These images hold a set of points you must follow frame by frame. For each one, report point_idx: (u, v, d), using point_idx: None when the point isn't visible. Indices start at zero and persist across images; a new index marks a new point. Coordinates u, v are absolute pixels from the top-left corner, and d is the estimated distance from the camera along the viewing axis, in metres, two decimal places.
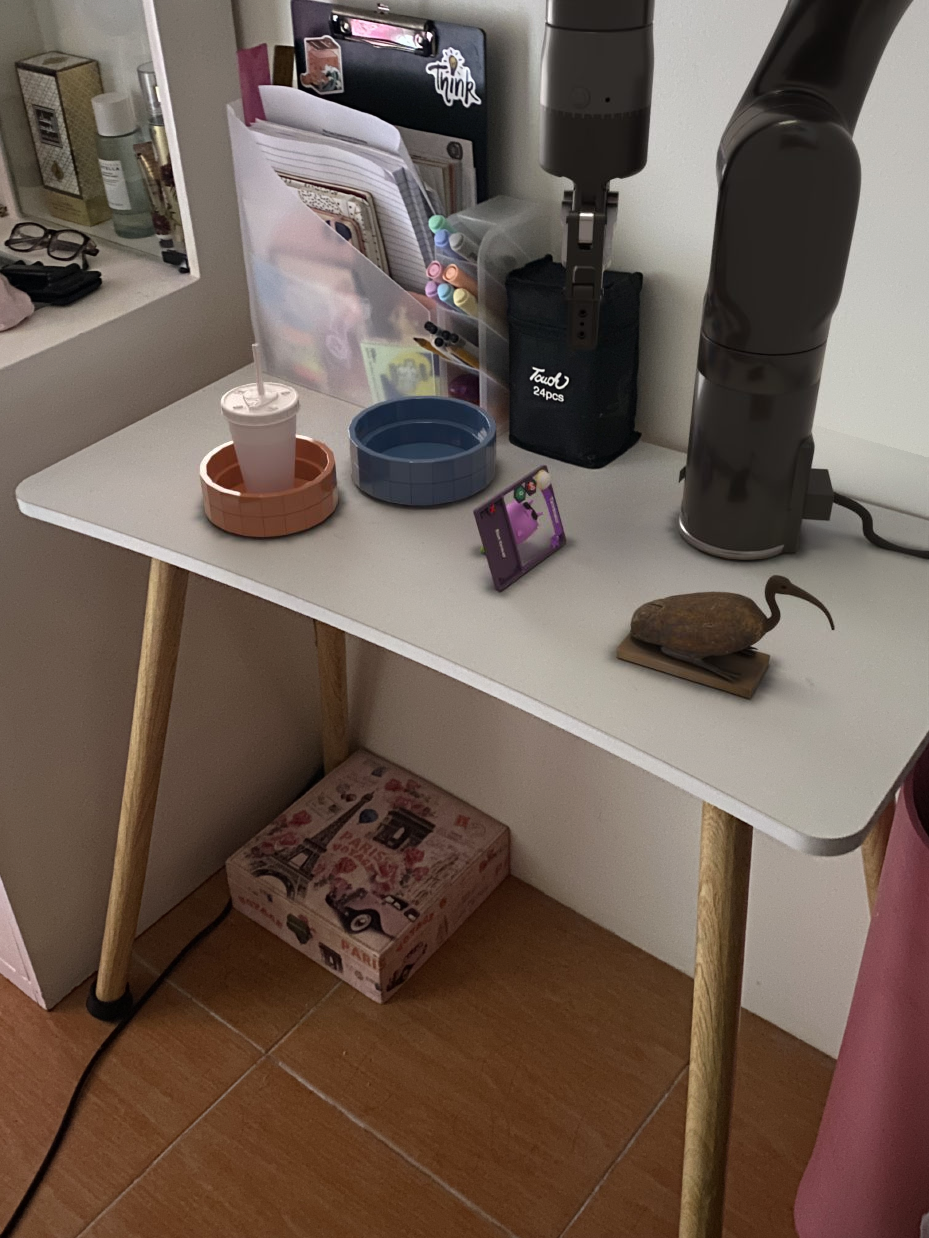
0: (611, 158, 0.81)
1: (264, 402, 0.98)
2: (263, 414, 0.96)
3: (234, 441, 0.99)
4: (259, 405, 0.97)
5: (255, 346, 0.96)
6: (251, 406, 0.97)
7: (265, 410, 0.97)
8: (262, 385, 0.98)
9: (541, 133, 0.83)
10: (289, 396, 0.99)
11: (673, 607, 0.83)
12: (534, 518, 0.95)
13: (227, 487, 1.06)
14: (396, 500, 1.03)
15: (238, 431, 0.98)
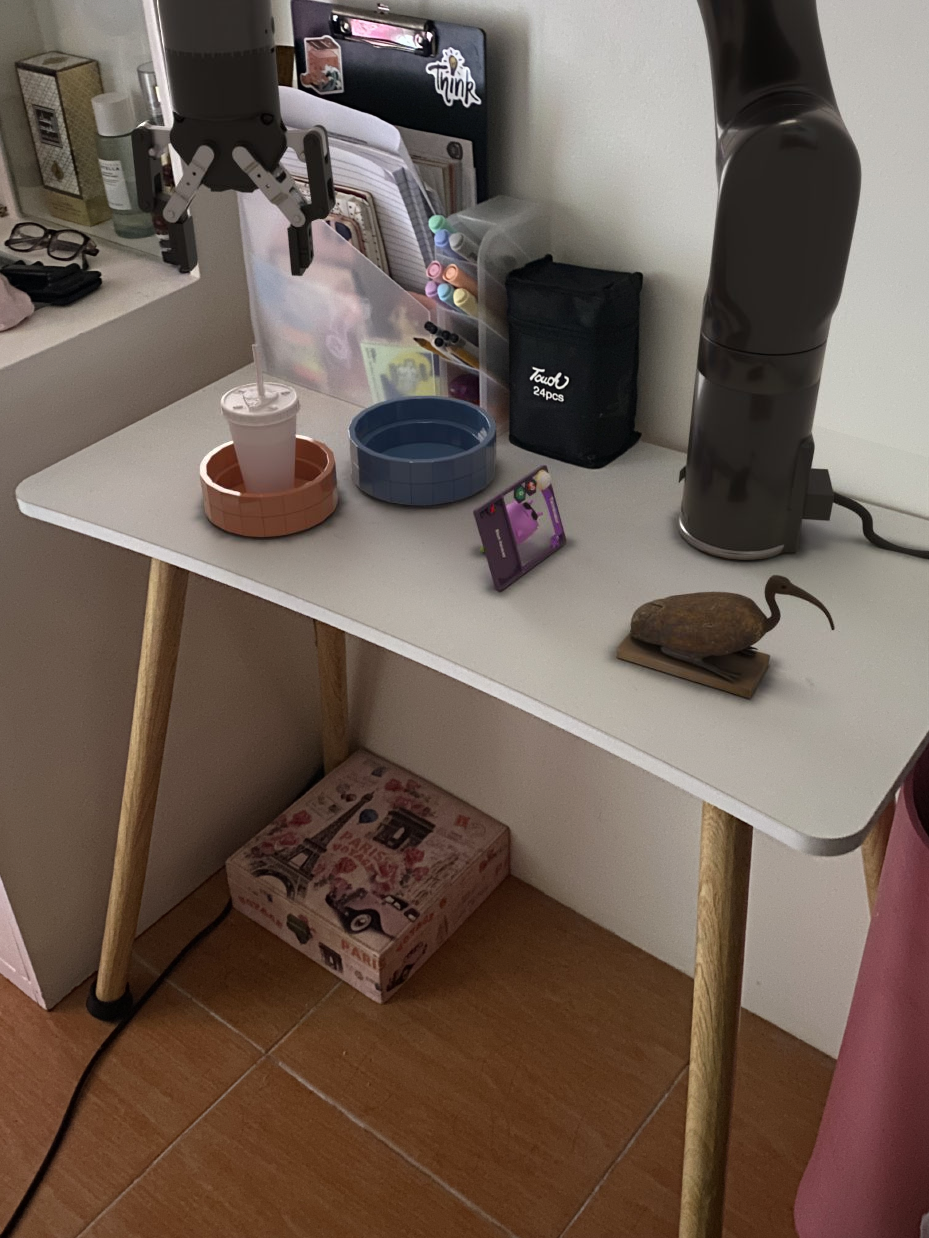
0: (169, 89, 0.84)
1: (264, 402, 0.98)
2: (263, 414, 0.96)
3: (234, 441, 0.99)
4: (259, 405, 0.97)
5: (255, 346, 0.96)
6: (251, 406, 0.97)
7: (265, 410, 0.97)
8: (262, 385, 0.98)
9: None
10: (289, 396, 0.99)
11: (673, 607, 0.83)
12: (534, 518, 0.95)
13: (227, 487, 1.06)
14: (396, 500, 1.03)
15: (238, 431, 0.98)
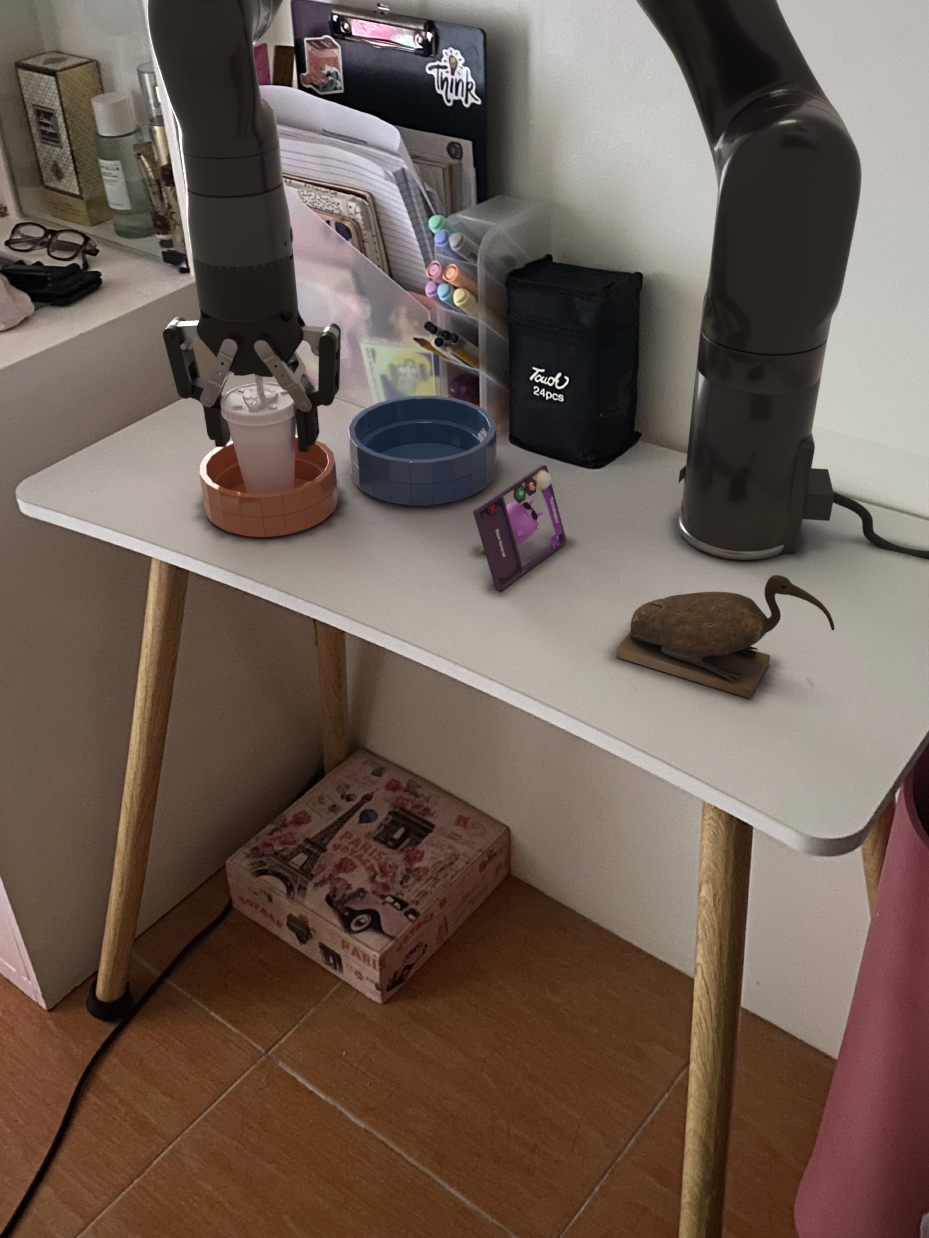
0: None
1: (264, 402, 0.98)
2: (263, 414, 0.96)
3: (234, 441, 0.99)
4: (259, 405, 0.97)
5: None
6: (251, 406, 0.97)
7: (264, 410, 0.97)
8: (262, 385, 0.98)
9: None
10: (289, 396, 0.99)
11: (673, 607, 0.83)
12: (534, 518, 0.95)
13: (227, 487, 1.06)
14: (396, 500, 1.03)
15: (237, 431, 0.98)
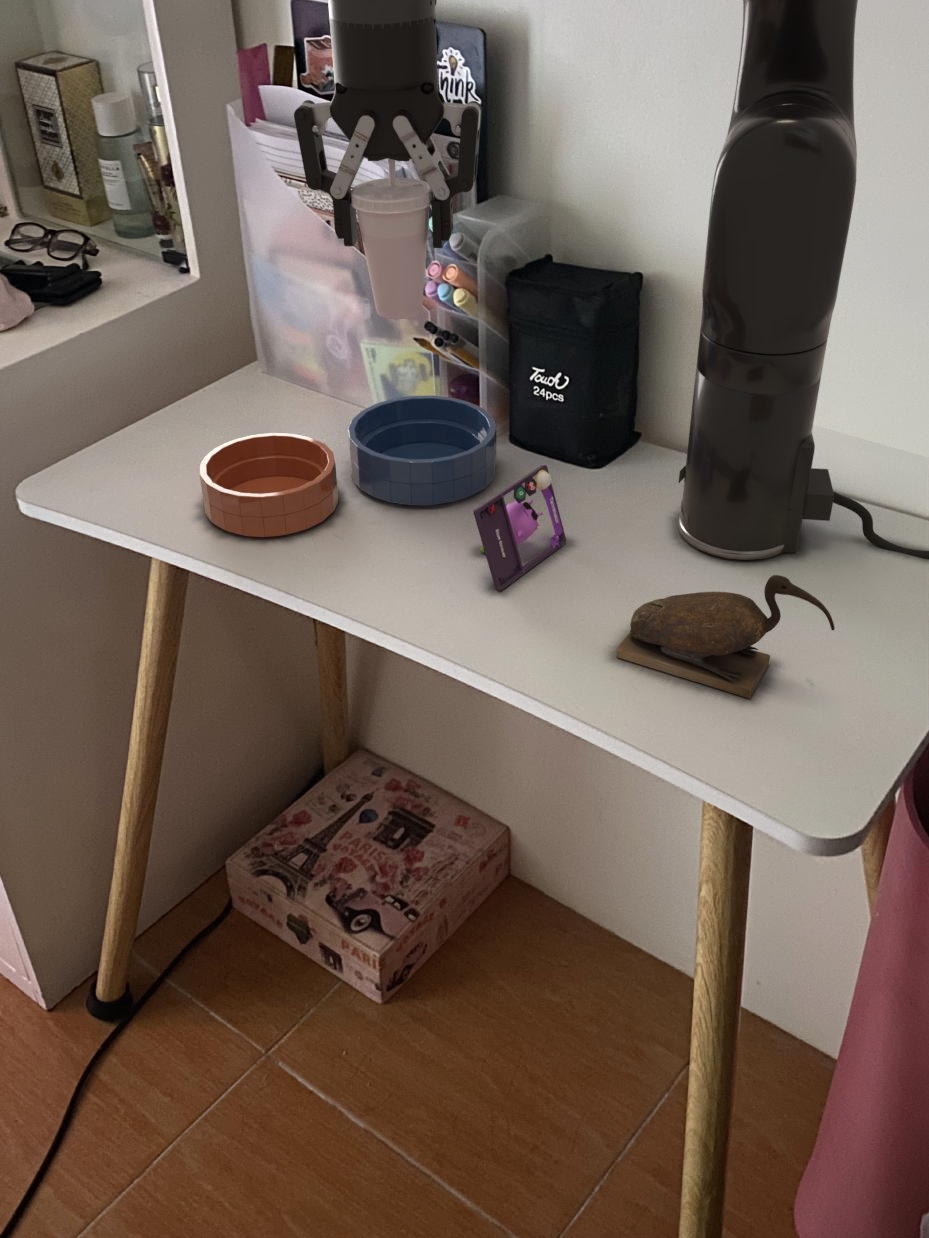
0: (333, 61, 0.87)
1: (398, 191, 0.93)
2: (399, 200, 0.91)
3: (365, 236, 0.94)
4: (393, 193, 0.92)
5: None
6: (385, 194, 0.92)
7: (400, 198, 0.92)
8: (394, 175, 0.93)
9: None
10: (422, 187, 0.94)
11: (673, 607, 0.83)
12: (534, 518, 0.95)
13: (227, 487, 1.06)
14: (396, 500, 1.03)
15: (370, 222, 0.93)
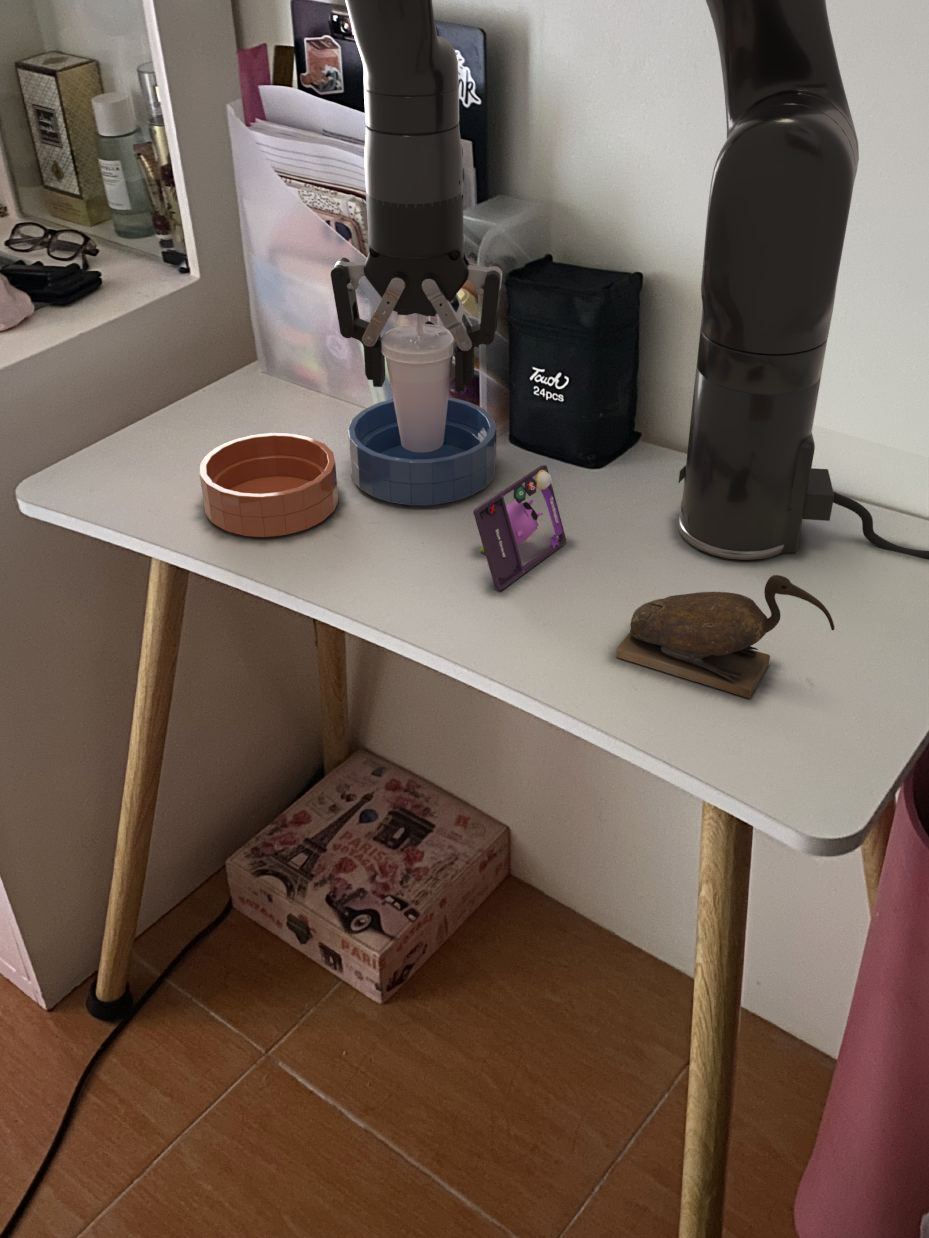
0: (368, 229, 0.95)
1: (424, 341, 1.00)
2: (426, 352, 0.99)
3: (393, 380, 1.02)
4: (420, 344, 1.00)
5: None
6: (413, 345, 1.00)
7: (426, 349, 1.00)
8: (421, 325, 1.01)
9: None
10: (447, 336, 1.02)
11: (673, 607, 0.83)
12: (534, 518, 0.95)
13: (227, 487, 1.06)
14: (396, 500, 1.03)
15: (398, 369, 1.01)
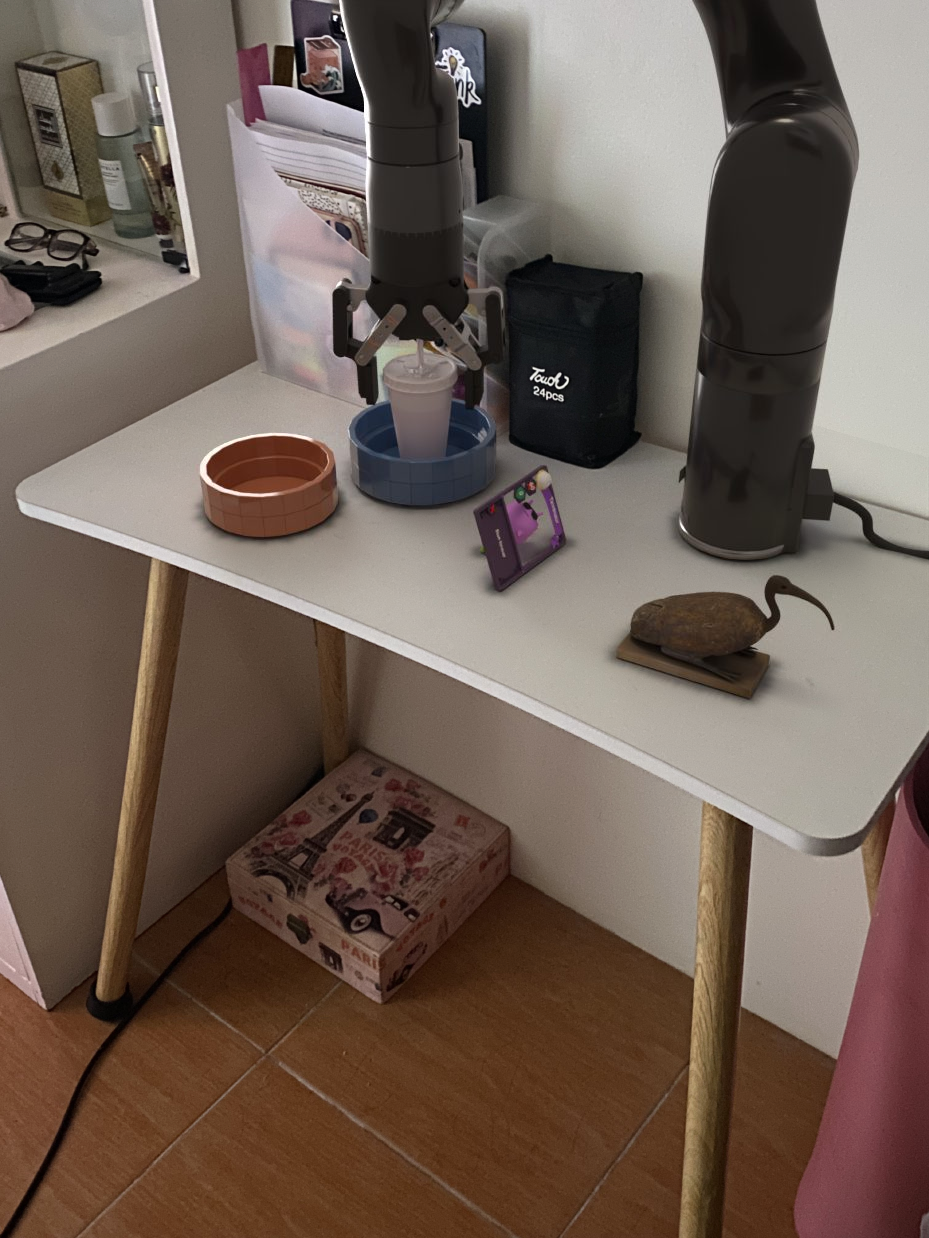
0: (370, 257, 0.97)
1: (425, 371, 1.02)
2: (427, 382, 1.00)
3: (394, 409, 1.04)
4: (421, 373, 1.01)
5: None
6: (414, 374, 1.01)
7: (427, 378, 1.01)
8: (422, 355, 1.03)
9: None
10: (448, 365, 1.03)
11: (673, 607, 0.83)
12: (534, 518, 0.95)
13: (227, 487, 1.06)
14: (396, 500, 1.03)
15: (400, 398, 1.02)
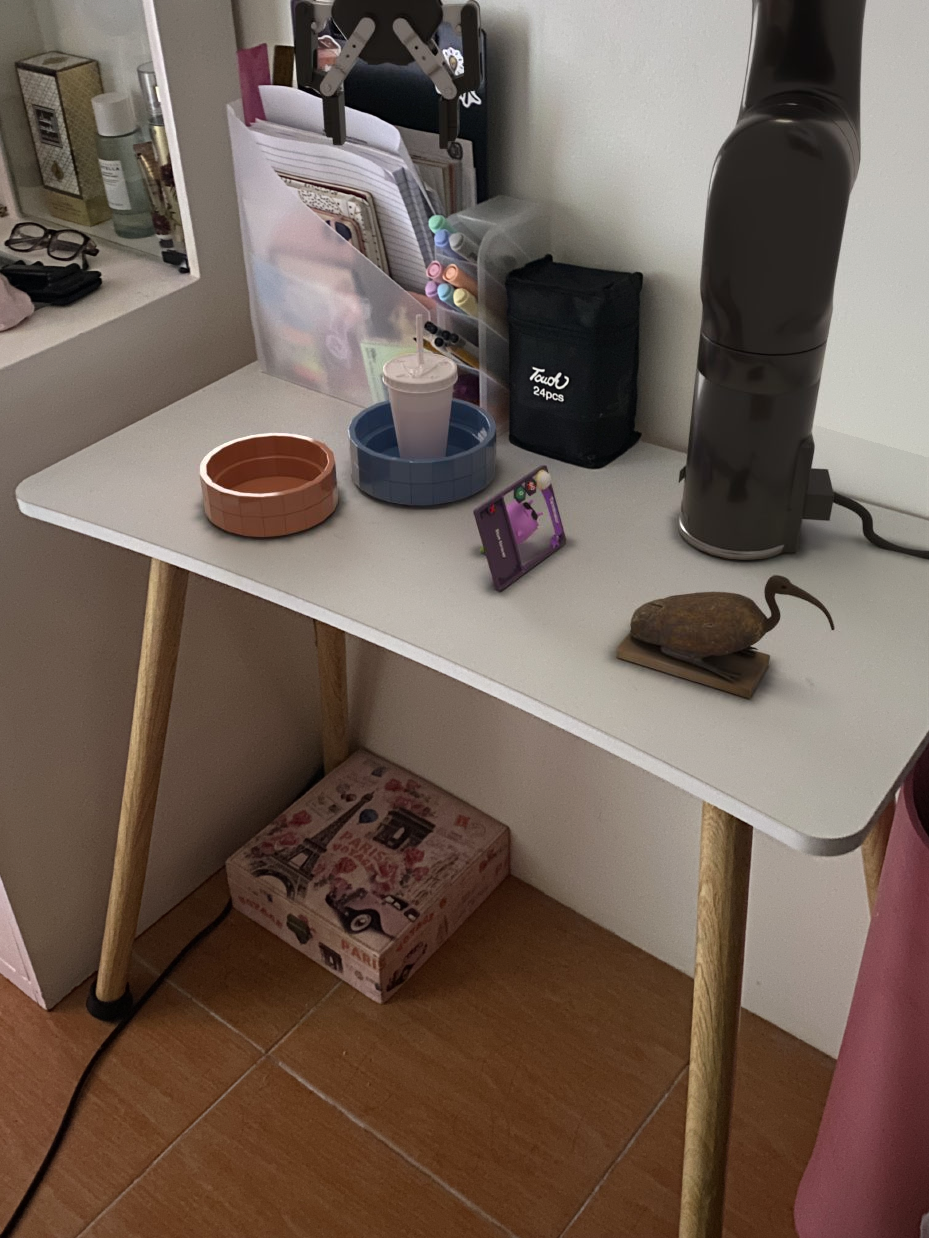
0: None
1: (425, 371, 1.02)
2: (427, 382, 1.00)
3: (394, 409, 1.04)
4: (421, 373, 1.01)
5: (419, 317, 1.01)
6: (414, 374, 1.01)
7: (427, 378, 1.01)
8: (422, 355, 1.03)
9: None
10: (448, 365, 1.03)
11: (673, 607, 0.83)
12: (534, 518, 0.95)
13: (227, 487, 1.06)
14: (396, 500, 1.03)
15: (400, 398, 1.02)
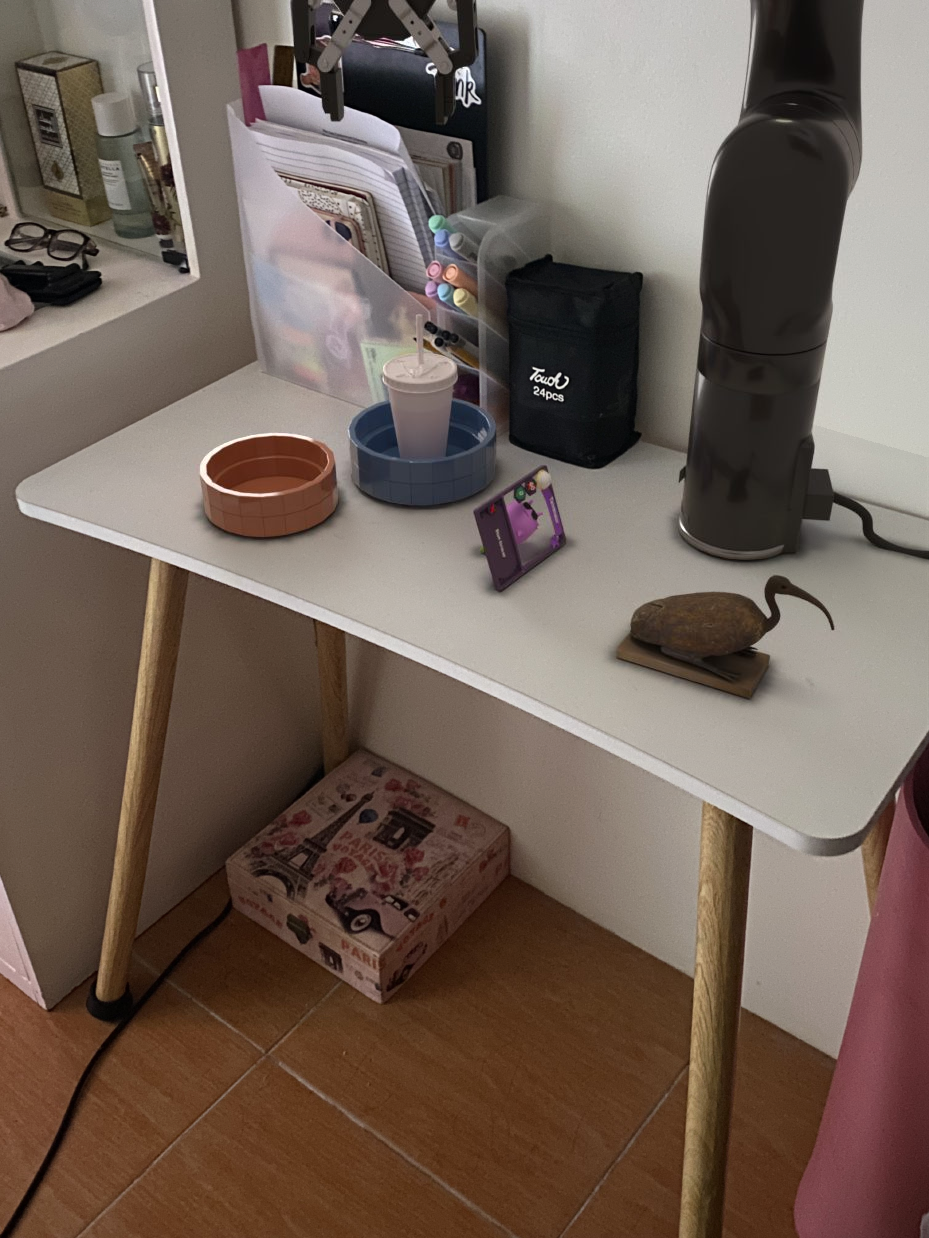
0: None
1: (425, 371, 1.02)
2: (427, 382, 1.00)
3: (394, 409, 1.04)
4: (421, 373, 1.01)
5: (419, 317, 1.01)
6: (414, 374, 1.01)
7: (427, 378, 1.01)
8: (422, 355, 1.03)
9: None
10: (448, 365, 1.03)
11: (673, 607, 0.83)
12: (534, 518, 0.95)
13: (227, 487, 1.06)
14: (396, 500, 1.03)
15: (400, 398, 1.02)
